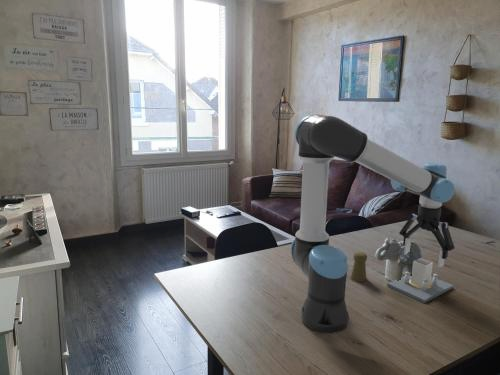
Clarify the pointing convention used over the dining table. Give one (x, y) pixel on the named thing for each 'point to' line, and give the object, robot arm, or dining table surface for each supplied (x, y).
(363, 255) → the cork
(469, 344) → the dining table surface
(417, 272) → the cream plug
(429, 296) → the pin board
